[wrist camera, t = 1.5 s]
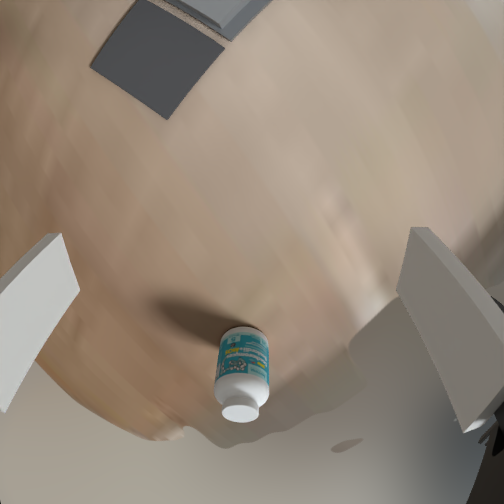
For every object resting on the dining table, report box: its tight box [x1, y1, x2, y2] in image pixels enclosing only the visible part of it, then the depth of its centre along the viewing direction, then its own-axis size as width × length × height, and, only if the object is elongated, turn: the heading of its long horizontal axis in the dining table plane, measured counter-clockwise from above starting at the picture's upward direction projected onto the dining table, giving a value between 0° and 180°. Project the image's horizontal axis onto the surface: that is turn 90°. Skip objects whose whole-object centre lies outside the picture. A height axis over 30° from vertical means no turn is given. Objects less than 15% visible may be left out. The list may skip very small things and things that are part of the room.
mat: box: [90, 0, 225, 120], centre depth 27 cm, size 12×10×1 cm
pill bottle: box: [214, 327, 269, 422], centre depth 41 cm, size 8×7×14 cm
